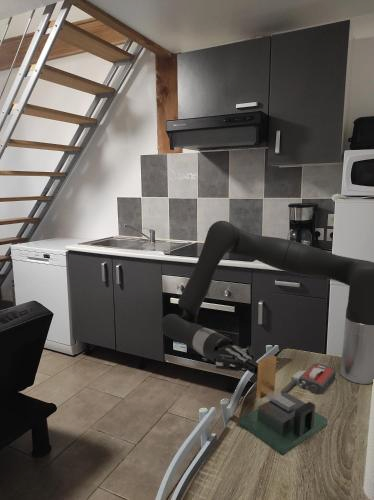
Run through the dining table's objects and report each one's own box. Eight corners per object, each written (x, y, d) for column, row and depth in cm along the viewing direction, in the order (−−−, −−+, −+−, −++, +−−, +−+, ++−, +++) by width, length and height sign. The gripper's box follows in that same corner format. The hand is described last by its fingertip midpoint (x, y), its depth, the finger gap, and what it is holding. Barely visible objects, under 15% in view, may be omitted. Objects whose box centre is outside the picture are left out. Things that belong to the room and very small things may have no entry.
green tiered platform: (284, 400, 93) (285, 374, 92) (326, 424, 84) (329, 396, 83) (239, 424, 84) (241, 395, 82) (282, 454, 74) (284, 423, 73)
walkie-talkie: (308, 367, 111) (277, 396, 96) (309, 354, 110) (278, 380, 95) (337, 377, 105) (310, 409, 90) (339, 363, 104) (311, 393, 89)
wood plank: (270, 389, 89) (272, 355, 88) (298, 405, 83) (301, 368, 81) (256, 396, 86) (258, 360, 85) (284, 413, 80) (287, 375, 78)
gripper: (193, 338, 97) (241, 363, 83) (230, 327, 105) (278, 348, 91) (193, 364, 98) (240, 393, 85) (229, 351, 106) (277, 376, 93)
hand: (260, 370), depth 88 cm, fingers closed
